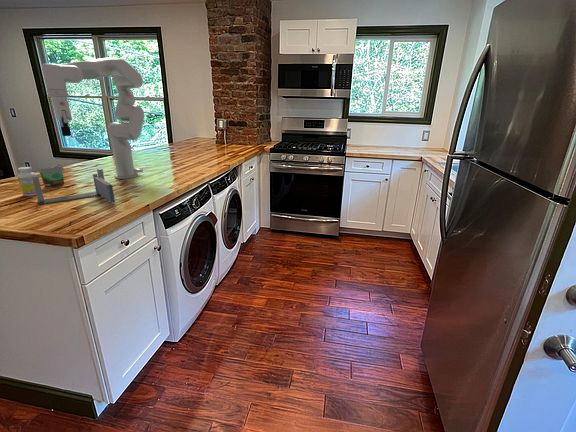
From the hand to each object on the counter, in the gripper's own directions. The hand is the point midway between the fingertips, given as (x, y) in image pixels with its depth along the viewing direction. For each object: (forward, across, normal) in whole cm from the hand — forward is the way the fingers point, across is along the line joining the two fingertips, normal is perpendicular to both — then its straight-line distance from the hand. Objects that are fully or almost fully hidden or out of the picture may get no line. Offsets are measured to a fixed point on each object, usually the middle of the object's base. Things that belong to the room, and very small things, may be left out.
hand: (66, 135), depth 144 cm
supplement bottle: (+27, +6, +18) cm, 33 cm away
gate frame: (+27, -12, +4) cm, 30 cm away
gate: (+26, -22, -6) cm, 35 cm away
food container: (+27, +18, +6) cm, 33 cm away
